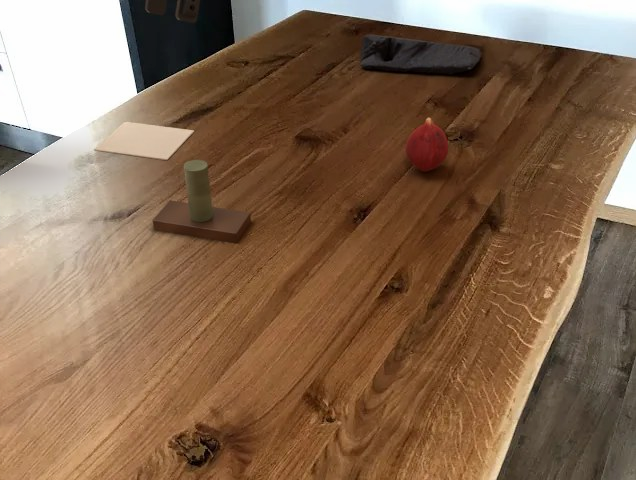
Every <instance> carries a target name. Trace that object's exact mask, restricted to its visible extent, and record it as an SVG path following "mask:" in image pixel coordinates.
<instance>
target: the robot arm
mask: <svg viewBox="0 0 636 480" xmlns="http://www.w3.org/2000/svg"><path fill="white" fill-rule="evenodd" d="M200 3H201V0H177V1H176V8H175V13H174V14H175V19H176V20H178V21H183V22H185V23H189V24H195V23H197V21H198V17H199V16H198V15H199V11H200ZM167 4H168V0H145V5H144V9H145V11H146V12H147V13H150V14H153V15H158V16H161V17H162V16H165V15H166V12H167V11H166V10H167Z"/></svg>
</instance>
